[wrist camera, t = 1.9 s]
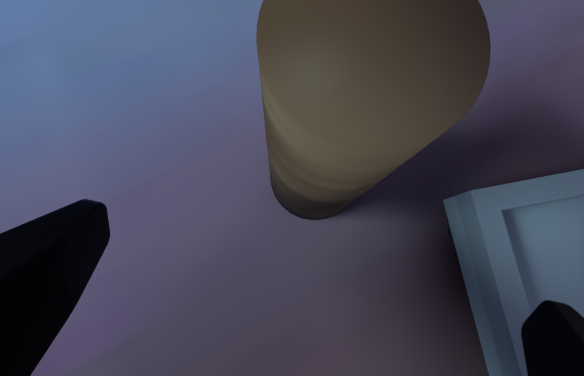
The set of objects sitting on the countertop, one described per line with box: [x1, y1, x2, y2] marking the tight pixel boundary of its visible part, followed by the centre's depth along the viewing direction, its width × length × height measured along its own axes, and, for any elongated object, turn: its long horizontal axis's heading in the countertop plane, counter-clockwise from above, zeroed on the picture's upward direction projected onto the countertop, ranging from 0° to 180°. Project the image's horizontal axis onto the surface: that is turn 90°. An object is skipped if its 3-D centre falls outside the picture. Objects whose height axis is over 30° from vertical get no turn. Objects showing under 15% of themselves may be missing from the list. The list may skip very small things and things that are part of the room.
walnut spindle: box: [256, 0, 491, 220], centre depth 13 cm, size 4×4×12 cm
